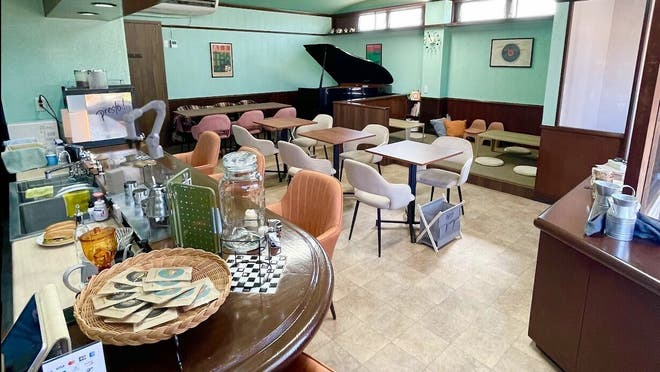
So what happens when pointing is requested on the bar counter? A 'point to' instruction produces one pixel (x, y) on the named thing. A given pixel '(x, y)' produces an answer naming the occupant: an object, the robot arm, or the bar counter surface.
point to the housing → (130, 158)
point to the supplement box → (115, 180)
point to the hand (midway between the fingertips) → (134, 149)
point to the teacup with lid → (104, 161)
